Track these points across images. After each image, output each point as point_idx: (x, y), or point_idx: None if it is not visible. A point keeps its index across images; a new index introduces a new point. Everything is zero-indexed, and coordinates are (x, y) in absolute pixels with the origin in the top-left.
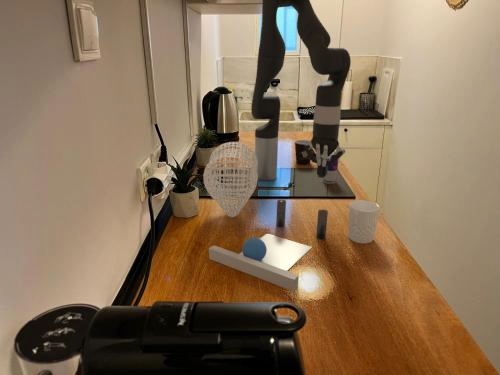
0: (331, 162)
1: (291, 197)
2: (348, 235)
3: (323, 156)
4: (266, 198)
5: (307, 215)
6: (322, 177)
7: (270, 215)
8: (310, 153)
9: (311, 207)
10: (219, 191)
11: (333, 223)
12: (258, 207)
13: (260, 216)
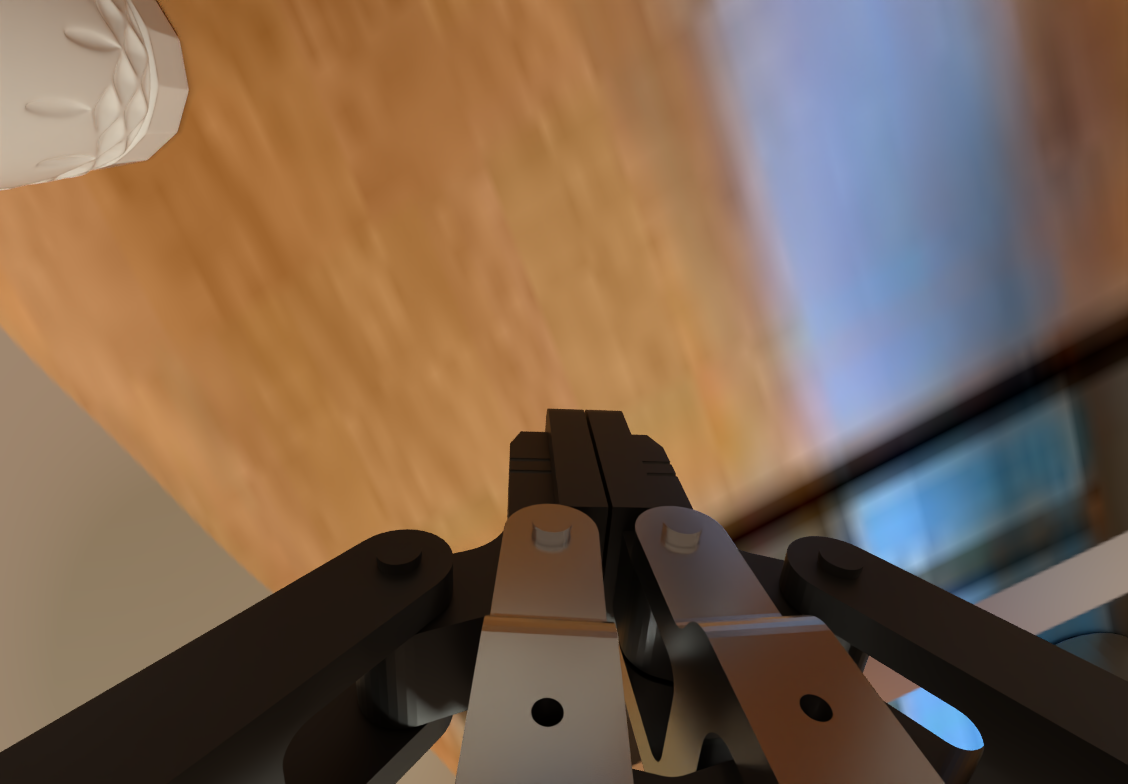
0: (343, 592)
1: (827, 491)
2: (169, 26)
3: (595, 675)
4: (996, 385)
5: (624, 258)
6: (550, 410)
7: (897, 92)
8: (1076, 715)
9: (644, 409)
10: None
11: (392, 223)
12: (1025, 194)
13: (974, 21)
